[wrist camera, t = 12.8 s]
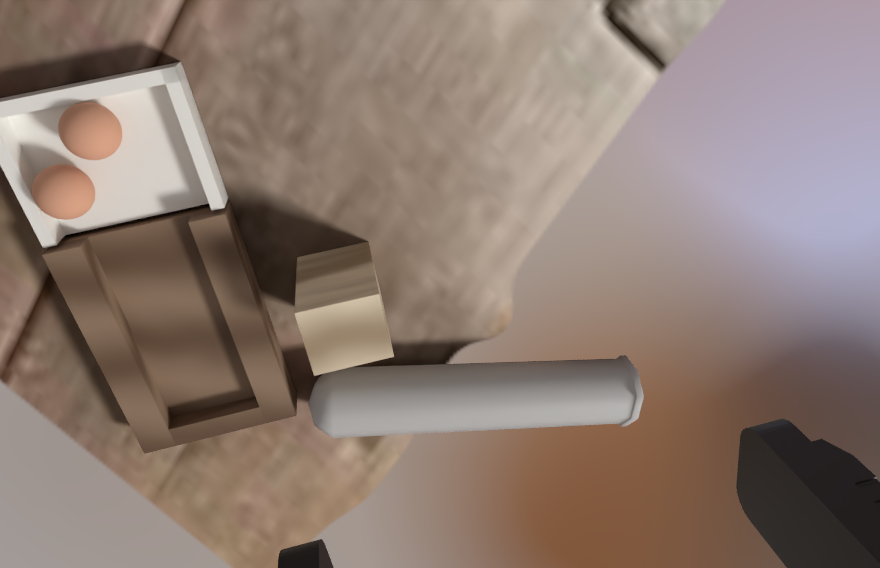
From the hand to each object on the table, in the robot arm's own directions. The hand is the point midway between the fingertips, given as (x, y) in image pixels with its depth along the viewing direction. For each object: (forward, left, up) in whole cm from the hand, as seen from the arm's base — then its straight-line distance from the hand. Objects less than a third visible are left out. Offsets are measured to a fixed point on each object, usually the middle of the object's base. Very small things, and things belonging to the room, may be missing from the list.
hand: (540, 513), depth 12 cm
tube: (+21, +3, -33) cm, 40 cm away
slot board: (+11, -16, -33) cm, 38 cm away
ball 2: (-1, -18, -31) cm, 35 cm away
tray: (-2, -16, -33) cm, 37 cm away
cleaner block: (+10, -5, -33) cm, 35 cm away
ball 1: (-4, -16, -32) cm, 36 cm away
